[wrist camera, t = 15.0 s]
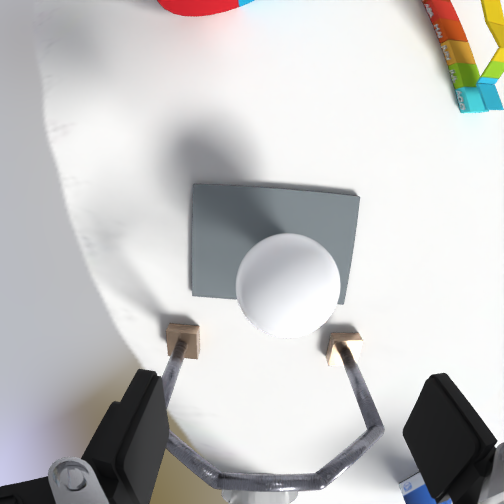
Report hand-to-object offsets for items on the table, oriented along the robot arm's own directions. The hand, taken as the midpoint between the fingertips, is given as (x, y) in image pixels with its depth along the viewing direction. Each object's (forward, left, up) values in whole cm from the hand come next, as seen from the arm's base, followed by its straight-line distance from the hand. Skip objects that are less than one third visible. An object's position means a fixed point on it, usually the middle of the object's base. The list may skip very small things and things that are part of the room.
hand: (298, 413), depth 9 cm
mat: (+1, 0, -18) cm, 18 cm away
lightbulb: (+1, 0, -18) cm, 18 cm away
